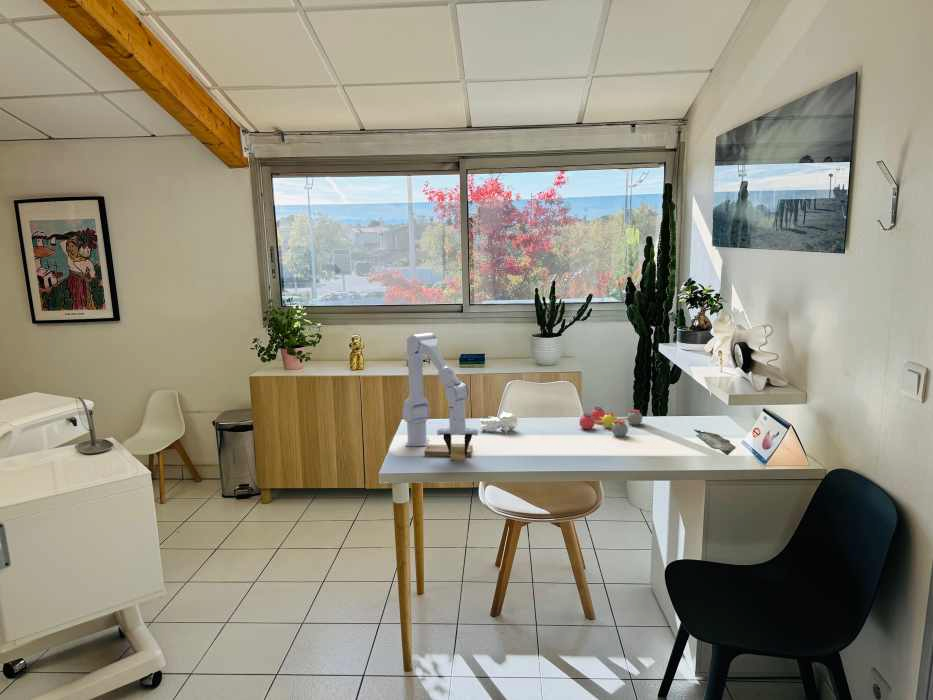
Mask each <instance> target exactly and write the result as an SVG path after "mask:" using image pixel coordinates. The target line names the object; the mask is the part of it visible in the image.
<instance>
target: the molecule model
mask: <svg viewBox="0 0 933 700" xmlns="http://www.w3.org/2000/svg"><path fill="white" fill-rule="evenodd" d="M640 411H641V410H640V409H634V408H633V409H631V410H629V412H628V414H627V416H626V418H617V416H616V415H615V413H613V412H606V411H605V410H604V409H603V407H601V406H594V408H593V409H592V410H591V412H590V413H583V414H582V416H581V417H580V418H579V420H578V421H579V426H580V427H581V429H583V430H585V429H589V430H591V429H593V428H594V426H595V425H596V424H602V425H603V426H604V428H607V429H611V432H612V434H613V435H614V436H615V437H617V438H622V437H625V436H626V435H627V434H628V431H629V428H628V425H627V424H626V420H627V422H628V423H629V424H630V425H631V426H638V425H640V424H641V423H642V422H643V415H642V413H641V412H640Z"/></svg>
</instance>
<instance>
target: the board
mask: <svg viewBox="0 0 933 700" xmlns="http://www.w3.org/2000/svg"><path fill="white" fill-rule="evenodd" d="M472 454H473V444H469V445H468V449H467V455H466V457H472ZM424 457H451V455H449V450H448V447H447V444H427V445H426V446H425V449H424Z"/></svg>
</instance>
